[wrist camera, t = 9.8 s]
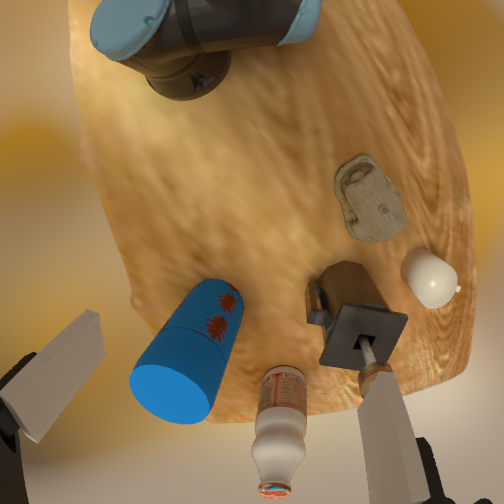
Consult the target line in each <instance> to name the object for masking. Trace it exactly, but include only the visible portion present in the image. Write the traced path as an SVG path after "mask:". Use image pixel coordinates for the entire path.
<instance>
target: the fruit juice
mask: <svg viewBox="0 0 504 504" xmlns="http://www.w3.org/2000/svg"><path fill="white" fill-rule="evenodd" d="M306 428H307V399H306V380H305V377H304V375H303V374H302V373H301V372H300V371H299V370H297V369H295V368H293V367H288V366H280V367H276V368H273V369H271V370H270V371H268V372H267V373H266V374H265V376H264V378H263V381H262V386H261V392H260V398H259V404H258V410H257V416H256V421H255V434H256V439H255V441H254V442H253V445H252V451H251V454H252V458H253V460H254V461H255V463H256V466H257V469H258V472H259V476H260V479H261V483H260V484H259V487H258V493H259V495H261V496H263V497H265V498H271V499H280V498H285V497H288V496H289V495H290V492H291V486H290V484H289V483H290V481H291V479H292V477H293V475H294V473H295V471H296V469H297V467H298V466H299V464H300V463H301V462H302V461H303V459H304V457H305V451H306V447H305V443H304V441H303V438H304V436H305V434H306Z"/></svg>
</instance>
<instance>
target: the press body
mask: <svg viewBox="0 0 504 504" xmlns="http://www.w3.org/2000/svg"><path fill="white" fill-rule="evenodd" d="M316 298H317V300H318V306H317V300H316ZM305 302H306V315H307V323H309V324H314V325H319V326H322V333H323V339H324V350H323V352H322V355H321V357H320V359H319V363H320V365H324V366H331V367H337V368H344V369H350V370H358V371H361V370H362V369H363V368H364V367H365V366H367V365H366V362H365V359H364V356H363V352H362V349H361V346H360V343H359V340H358V336H359V334H364V335H367V338H368V341H369V343H370V346H371V349H372V351H373V354H374V357H375V360H376V362H377V361H383V362H387V361H388V359H389V357H390V355H391V353H392V351H393V349H394V347H395V345H396V343H397V341H398V339H399V337H400V335H401V333H402V331H403V329H404V327H405V325H406V322H407V320H408V316H407V315H406V314H403V313H398V312H393V311H392V310H391V309H390V307H389V305H388V304H387V302H386V300H385V299H384V297H383V296H382V294H381V292H380V291H379V289H378V288H377V286H376V284H375V283H374V281H373V280H372V278H371V277H370V275H369V274H368V273H367V271H366V270H365V269H364V268H363V266H362V265H361V264H356V263H352V262H348V261H342V262H340V263H337V264H334V265H332V266H329V267H327V268H326V270H325V271H324V273H323V274H322V275H321V277H320V278H319V280H318V281H317V284H312V283H308V284H307V288H306V291H305ZM318 307H319V309H318Z"/></svg>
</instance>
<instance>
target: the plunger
mask: <svg viewBox="0 0 504 504" xmlns="http://www.w3.org/2000/svg"><path fill="white" fill-rule="evenodd" d="M358 340H359V343H360V346H361V349H362V352H363V356H364V359H365V362H366V365H367V366H365V367H364V368H363V369H362V370H361V371H360V373H359V375H358V384H359V388H360V392H361V396H362V398H363V399H364V398H365V396H366V394H367V393H368V391H369V389H370V387H371V385H372V384H373V382H374V380H375V378H376V376H377V374H378V373H379V371H380V372H393V370H392V367H391V366H390V364H388V363H387V362H383V361H377V362H376V360H375V357H374V354H373V351H372V349H371V346H370V343H369V341H368V338H367V335H364V334H359V336H358ZM393 373H394V372H393ZM396 381H397V380H396Z"/></svg>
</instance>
